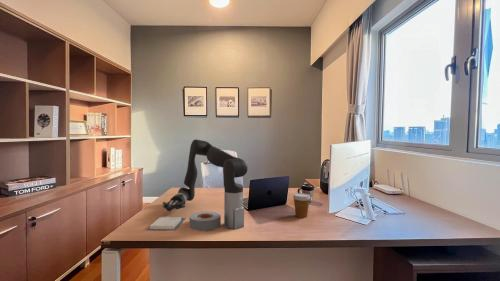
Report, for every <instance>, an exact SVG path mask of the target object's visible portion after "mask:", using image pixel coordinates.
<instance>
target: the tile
mask: <svg viewBox="0 0 500 281" xmlns="http://www.w3.org/2000/svg"><path fill="white" fill-rule="evenodd" d="M181 218H182V217H181V216H159V217H158V218H157V219H156V220H155V221H154V222H153V223H152V224H150V225H149V227H150V229H172V230H171V231H173V229H174V228H175V227H176V226H177V225H178V223H179V222H180V221H181Z"/></svg>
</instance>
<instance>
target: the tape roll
mask: <svg viewBox="0 0 500 281" xmlns="http://www.w3.org/2000/svg"><path fill="white" fill-rule="evenodd" d="M221 218H222V216H221V214H220V213H218V212H216V211H200V212H199V211H198V212H194V213H191V214H190V215H189V226H188V227H189V228H190V229H192V230H196V231H205V232H208V231H214V230H217V229H219V228H221V225H222V222H221V221H222V220H221Z"/></svg>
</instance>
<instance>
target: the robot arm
mask: <svg viewBox="0 0 500 281" xmlns="http://www.w3.org/2000/svg"><path fill="white" fill-rule="evenodd" d="M196 155H198V156H204V157H206V160H207V161H208V162H209V163H210V164H211V165H213V166H216V167H218V168H222V175H223V176H222V177H223V189H224V192H223V193H224V199H223V200H224V202H223V205H224V206H223V207H224V208H223V209H224V211H223V213H224V214H223V215H224V217H223V218H224V220H223V222H224V224H223V225H224V228H227V229H233V230H237V229H240V228H243V227H245V207H244V186H243V185H242V184H240V183H237V182H236V181H235V178H236V179H237V178H242V177H245V175H247V173H248V165H247V163H246V161H245V160H244V159H242V158H239V157H236V156H233V155H231V154H229V153H228V152H225V151H224V150H222V149H221V148H219V147H215V146H213V145H212V144H211V143H210V142H208V141H206V140H201V139H193V140H192V142H191V144H190V147H189V155H188V162H187V169H186V174H185V176H184V179H183V185H184V186H186V187H183V186H182V187H180V188H179V189H178V191H177V193H176V194H175V195H173V196H172V197H171V198H170V200H168V201H167V202H166V201H163V202H162V208H163V209H165V210H166V211H167V212H171V211H173V210H180V209H183V208H186V203H187V202H188V201H189V202H191V201H193V200H194V198H195V195H196V194H195V192H196V190H195V188H196V187H195V186H196V182H197V179H198V169H197V168H198V167H197V165H196Z"/></svg>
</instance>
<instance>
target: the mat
mask: <svg viewBox="0 0 500 281" xmlns="http://www.w3.org/2000/svg"><path fill="white" fill-rule="evenodd" d="M186 219H187V218H186V217H181V221H180V222H179V223H178V225H177V226H176V227H175V228H174V229H173V230H172V229H150V226H149V227H148V228H147V229H146V231H175V232H176V231H177V230H178V229H179V228H180V226H181V225H182V224H183V223H184V221H185V220H186Z"/></svg>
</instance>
